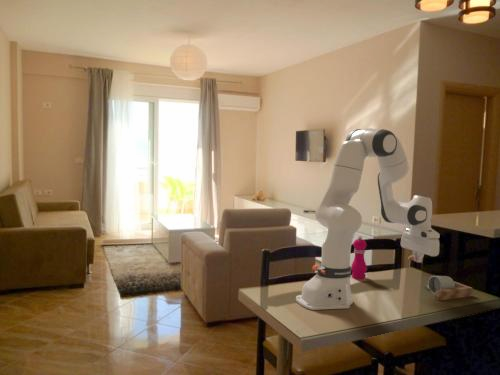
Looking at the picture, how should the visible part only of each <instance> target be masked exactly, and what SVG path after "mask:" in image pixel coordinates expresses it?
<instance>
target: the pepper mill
mask: <svg viewBox="0 0 500 375" xmlns="http://www.w3.org/2000/svg"><path fill="white" fill-rule="evenodd" d="M352 245H353V248H354V249H353V250H354V251H353V253H354V258H353V261H352V262H351V265H350V266H351V277H352V278H353V279H355V280H364V279H366V275H367V274H366V273H367V271H368V267H367V263H366V260H365V253H366V249H367V242H366V241H365V240H364V239H363V237H362V235H358V237H357V239H355V240H354V241H353V242H352Z"/></svg>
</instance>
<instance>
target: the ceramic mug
mask: <svg viewBox="0 0 500 375" xmlns="http://www.w3.org/2000/svg"><path fill="white" fill-rule="evenodd" d="M452 288H455V283H454V280H453V278H452V277H450V276H447V275H432V276H430V277H429V279H428V282H427V289H428V290H429V291H430V292H431V293H432V295H435V291H436V290H444V289H452Z"/></svg>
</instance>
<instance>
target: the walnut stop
mask: <svg viewBox="0 0 500 375" xmlns="http://www.w3.org/2000/svg"><path fill="white" fill-rule="evenodd" d="M453 281H454V280H453ZM454 283H455V288H452V289H444V290H436V291H435V294H434V300H436V301H445V300H455V299H461V298H462V299H463V298H470V297H473V292H474V291H473V289H474V288H473V287H471V286H468V285H465V284H464V283H460V282H457V281H456V280H455V281H454Z"/></svg>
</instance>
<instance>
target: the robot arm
mask: <svg viewBox="0 0 500 375" xmlns="http://www.w3.org/2000/svg"><path fill="white" fill-rule="evenodd" d="M345 139H346V140H345V141H344V142H342V143H341V145H340V148H339V149H338V151H337V154H336V157H335V162H334V165H333V170H332V173H331V177H330V180H329V181H330V182H329V185H328V188H327V190H326V192H325V195H324V196H323V198H322V200H321V202H319V204H318V205H317V206H316V208H315V212H314V215H315V219H316V220H317V221H318V223H319V225H321V226H323V227H324V228H327V233H326V238H325V241H324V242H323V243H322V245H321V263H320V265H319V266H318V265H316V264H314V265H312V270H313V271H315V272H317V273H316V274H315V275H314V276H313V277H311V278H310V279H309V280H308V281H306V282H305V283H304V284H303V286H302V289H301V294H299V295H296V296H295V301H296V302H297V303H298V304H299V305H300V306H302V307H303V308H306V309H308V310H311V311H317V310H319V311H321V310H341V309H342V310H343V309H350V308H351V306H352V305H353V303H354V299H353V296H352V291H351V277H352V270H351V266H352V265H351V250H352V245H353V242H354V241H353V240H354V237H355V234H356V233H357V231H359V229H360V228H361V226H362V222H363V218H362V215H361V212H359V210H358V209H356V208H355V207H353V206H352V205H350V202H351V200H352V198H353V197H354V195H356V194H357V193H358V191H359V188H360V183H361V180H362V174H363V172H364V166H365V159H366V158H367V157H369V158H370V157H371V158H372V157H373V158H376V157H377V161H378V164H379V168H380V170H379V173H378V175H377V187H378V193H379V199H380V214H381V217H382V219H383V220H384V221H385V222H386V223H389V224H391V223H392V224H399V225H405V226H406V225H407V226H409V227H406V228H404V229H403V231H402V235H401V237H400V238H401V239H400V246H401V248H403V249H406V250H411V251H412V255H413V261H414V262H416V263H422V262H423V258H424V256H425V255H427V256H430V257H438V256H439V254H440V236H441V235H440V233H439V232H438V231H436V230H435V229H433V228H432V222H431V221H432V220H431V219H432V216H433V203H432V198H430V196H426V195H421V194H415V195H413V196H412V199H411V200H410V201H408V202H403V201H397V200H396V199H395V198H394V193H393V184H395V183H397V182H400V181H401V180H403V179H404V178H405V177H406V175H407V174H408V171H409V162H408V158H407V155H406V152H405V149H404V147H403V145H402V143H401V141H400V139H399V138H398V136H396V135H395V134H394V133H393V131H390V130H387V129H377V128H362V129H361V128H357V129H355V130H352V131H350V132H349V133H348V134H347V137H346V138H345Z"/></svg>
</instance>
